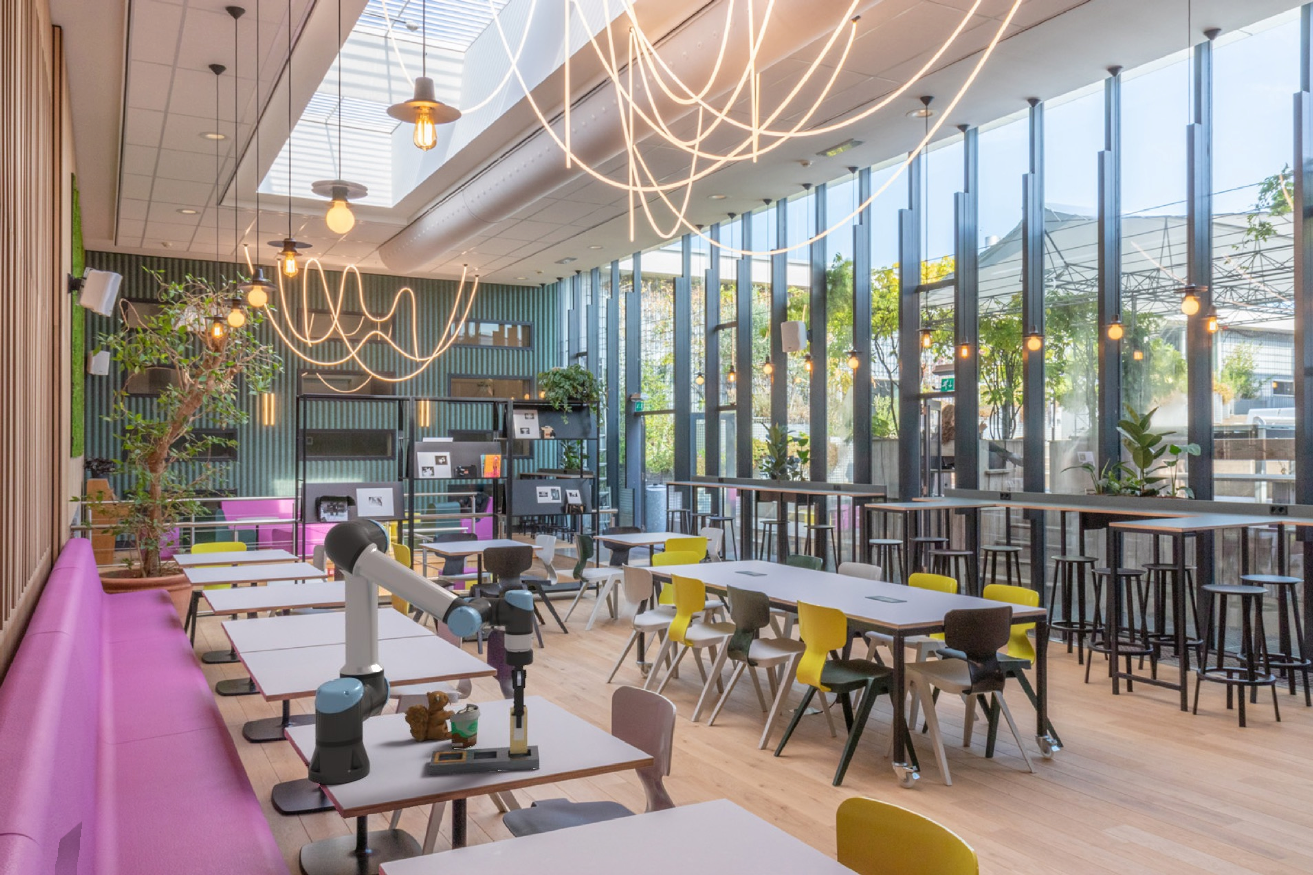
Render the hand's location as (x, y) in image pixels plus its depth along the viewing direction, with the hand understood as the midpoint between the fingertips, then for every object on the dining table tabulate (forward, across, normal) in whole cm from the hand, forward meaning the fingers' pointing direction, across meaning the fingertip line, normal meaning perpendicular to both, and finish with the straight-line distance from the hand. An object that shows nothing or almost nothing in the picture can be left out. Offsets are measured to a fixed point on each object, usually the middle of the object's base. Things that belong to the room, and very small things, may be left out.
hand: (518, 736), depth 249 cm
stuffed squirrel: (+7, +28, +25) cm, 38 cm away
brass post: (+4, 0, 0) cm, 4 cm away
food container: (+7, +19, +14) cm, 24 cm away
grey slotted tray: (+7, 0, +9) cm, 11 cm away
